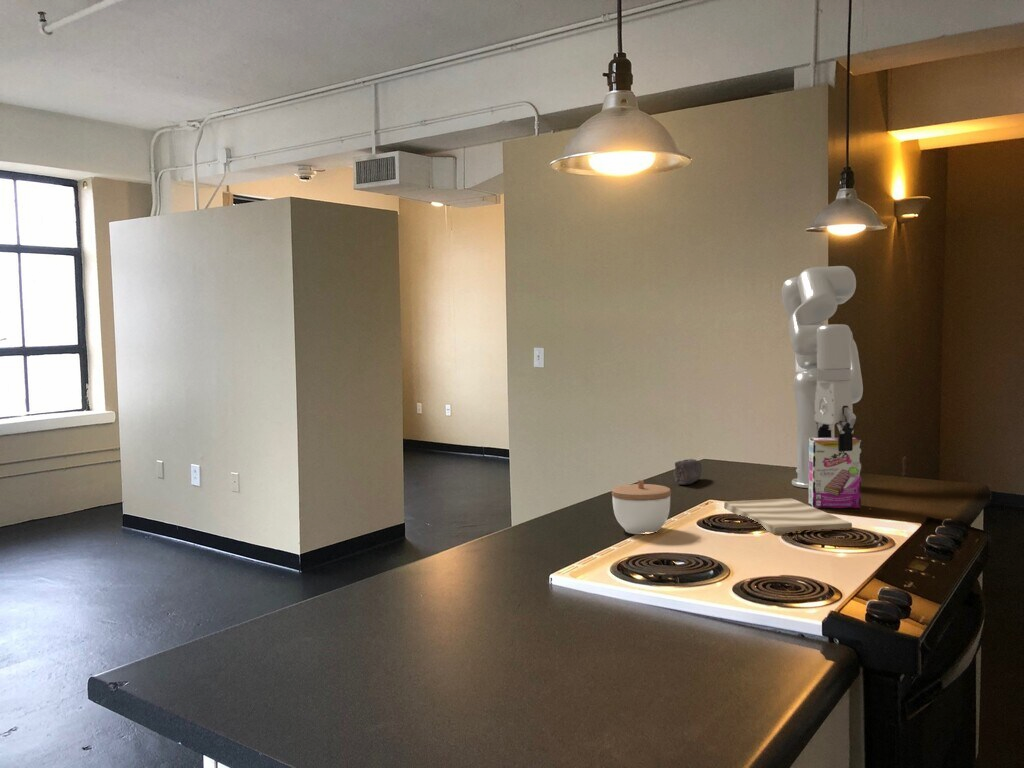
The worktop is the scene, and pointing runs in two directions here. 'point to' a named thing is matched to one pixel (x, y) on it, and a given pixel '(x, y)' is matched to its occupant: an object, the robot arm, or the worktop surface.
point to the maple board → (786, 515)
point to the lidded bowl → (641, 506)
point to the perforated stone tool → (687, 471)
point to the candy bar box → (834, 474)
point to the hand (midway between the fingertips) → (834, 448)
